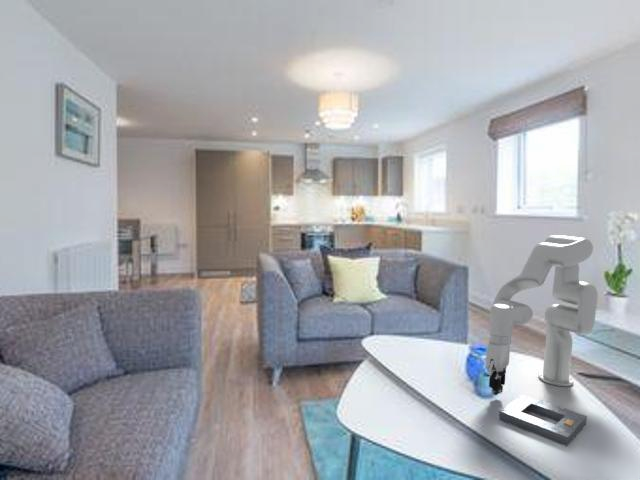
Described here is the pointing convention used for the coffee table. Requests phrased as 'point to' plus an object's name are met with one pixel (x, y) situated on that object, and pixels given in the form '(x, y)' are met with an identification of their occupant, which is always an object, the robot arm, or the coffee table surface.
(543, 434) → the frame
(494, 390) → the black knob lever
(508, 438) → the coffee table surface
